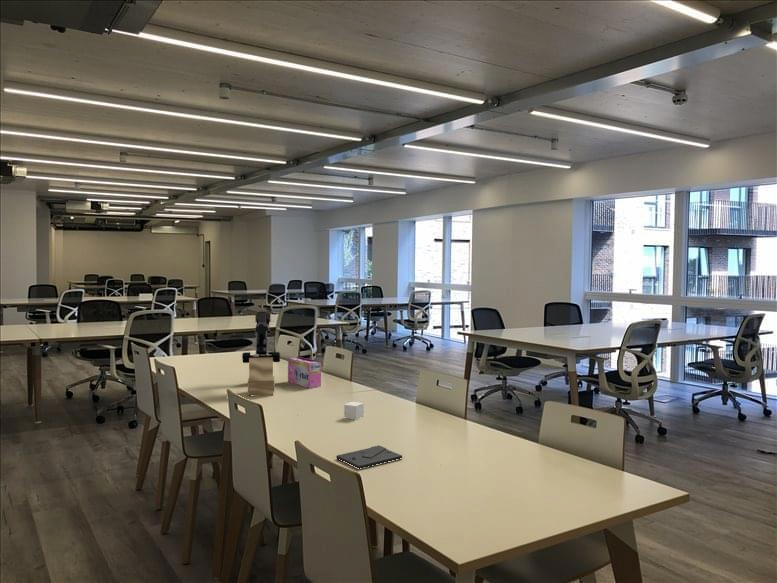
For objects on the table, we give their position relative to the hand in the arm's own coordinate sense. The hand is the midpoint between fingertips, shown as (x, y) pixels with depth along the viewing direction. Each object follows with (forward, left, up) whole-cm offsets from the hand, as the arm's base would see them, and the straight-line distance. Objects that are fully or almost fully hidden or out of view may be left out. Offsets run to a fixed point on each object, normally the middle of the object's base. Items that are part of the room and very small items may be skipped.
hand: (261, 371), depth 296 cm
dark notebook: (+113, -8, -13) cm, 114 cm away
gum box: (-14, +30, -12) cm, 36 cm away
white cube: (+63, +16, -12) cm, 66 cm away
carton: (-4, +2, -12) cm, 13 cm away
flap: (0, 0, +1) cm, 1 cm away
